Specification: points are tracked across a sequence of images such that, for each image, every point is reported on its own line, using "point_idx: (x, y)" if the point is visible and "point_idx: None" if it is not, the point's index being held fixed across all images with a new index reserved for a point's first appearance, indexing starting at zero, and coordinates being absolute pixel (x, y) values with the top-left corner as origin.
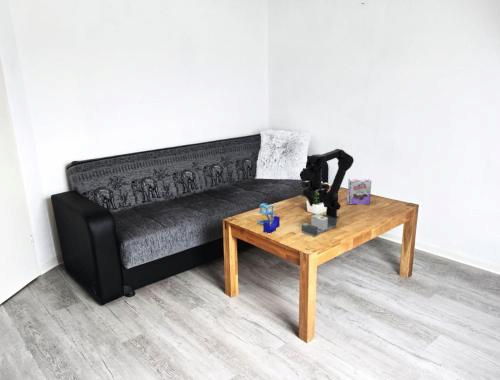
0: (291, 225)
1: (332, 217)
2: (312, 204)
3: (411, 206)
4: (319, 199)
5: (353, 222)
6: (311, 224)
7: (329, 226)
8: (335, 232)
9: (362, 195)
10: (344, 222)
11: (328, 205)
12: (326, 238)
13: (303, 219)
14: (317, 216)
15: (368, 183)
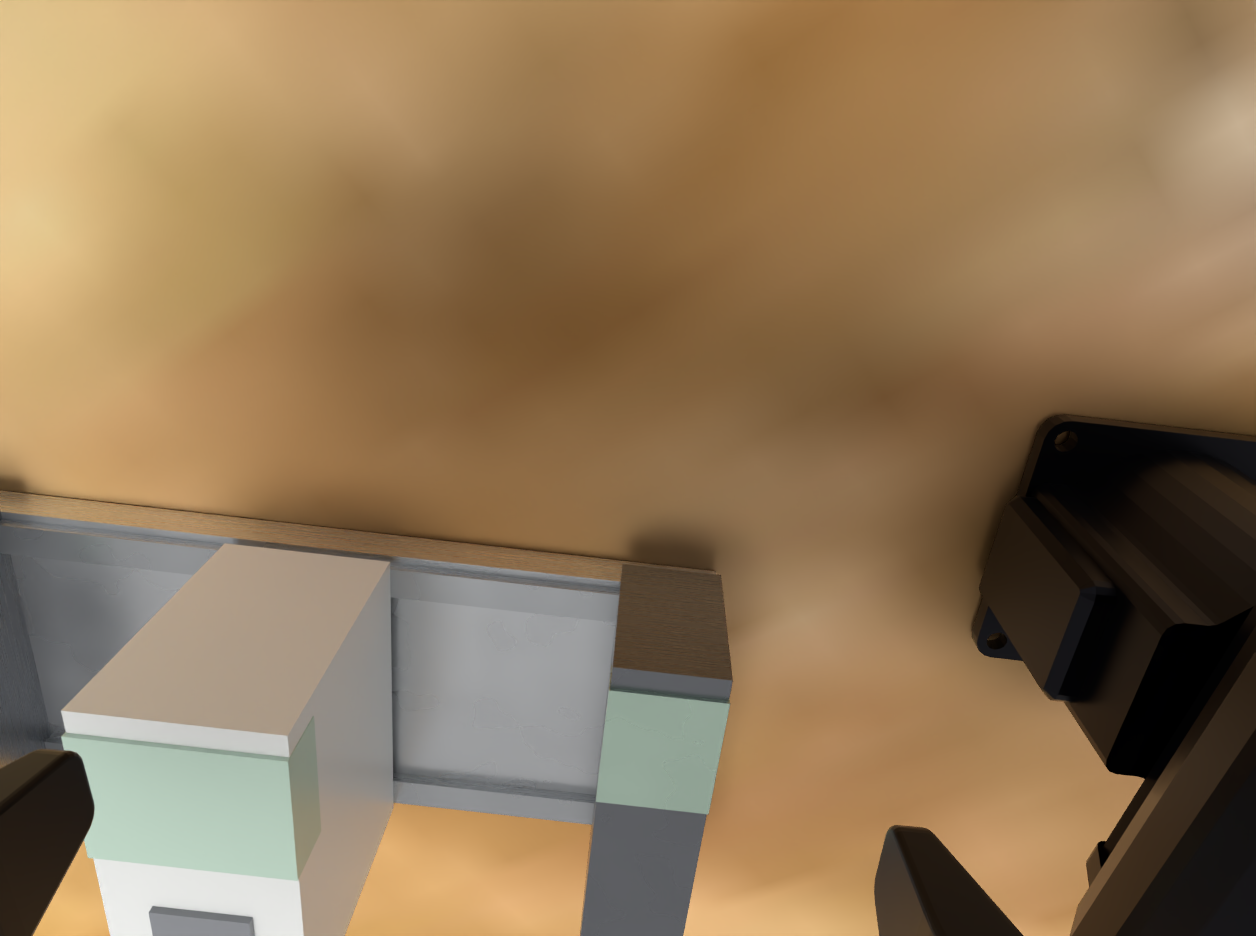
0: (5, 13)
1: (672, 899)
2: (17, 923)
3: None
4: (926, 921)
5: (1053, 932)
6: (199, 572)
7: (495, 802)
8: (431, 891)
9: None
10: (972, 833)
11: (1127, 837)
12: None
13: (613, 18)
14: (178, 837)
15: None
